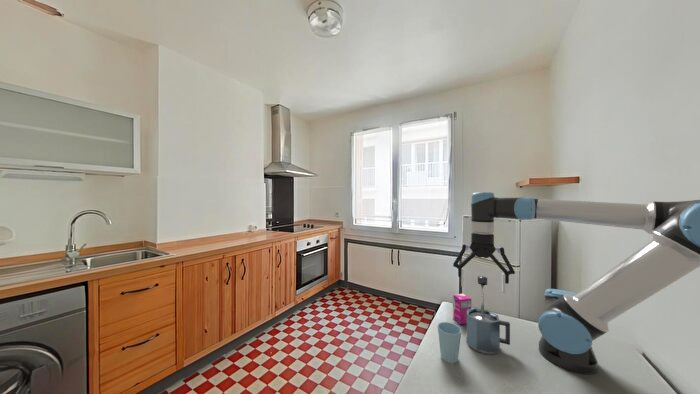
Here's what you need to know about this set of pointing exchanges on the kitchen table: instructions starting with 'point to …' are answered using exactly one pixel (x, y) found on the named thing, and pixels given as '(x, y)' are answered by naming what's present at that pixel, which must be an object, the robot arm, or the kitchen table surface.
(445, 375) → the kitchen table surface
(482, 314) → the plunger
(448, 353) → the cup
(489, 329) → the press carafe
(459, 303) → the supplement box
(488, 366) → the kitchen table surface
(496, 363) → the kitchen table surface
